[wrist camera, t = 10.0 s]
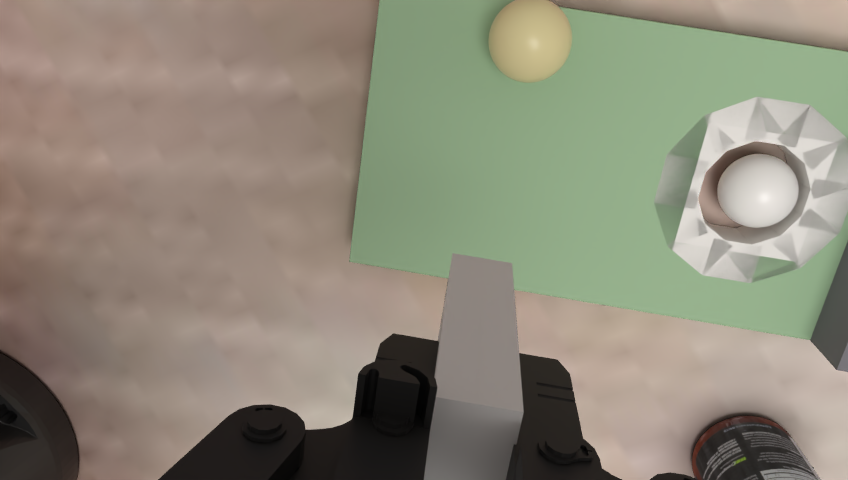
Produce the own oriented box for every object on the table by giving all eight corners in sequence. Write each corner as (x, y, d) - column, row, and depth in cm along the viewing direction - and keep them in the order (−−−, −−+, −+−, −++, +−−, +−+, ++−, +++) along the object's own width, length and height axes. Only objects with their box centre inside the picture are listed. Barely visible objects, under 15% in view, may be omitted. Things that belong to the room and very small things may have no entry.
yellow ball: (482, 71, 33) (481, 80, 30) (496, -10, 32) (496, -9, 29) (558, 83, 33) (565, 94, 30) (575, 2, 32) (585, 4, 28)
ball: (762, 242, 33) (799, 233, 35) (785, 166, 32) (822, 163, 34) (694, 217, 36) (733, 210, 38) (713, 147, 34) (752, 144, 36)
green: (357, 245, 40) (337, 284, 34) (389, -20, 35) (371, -21, 29) (827, 324, 39) (879, 377, 33) (928, 63, 34) (1007, 77, 29)
